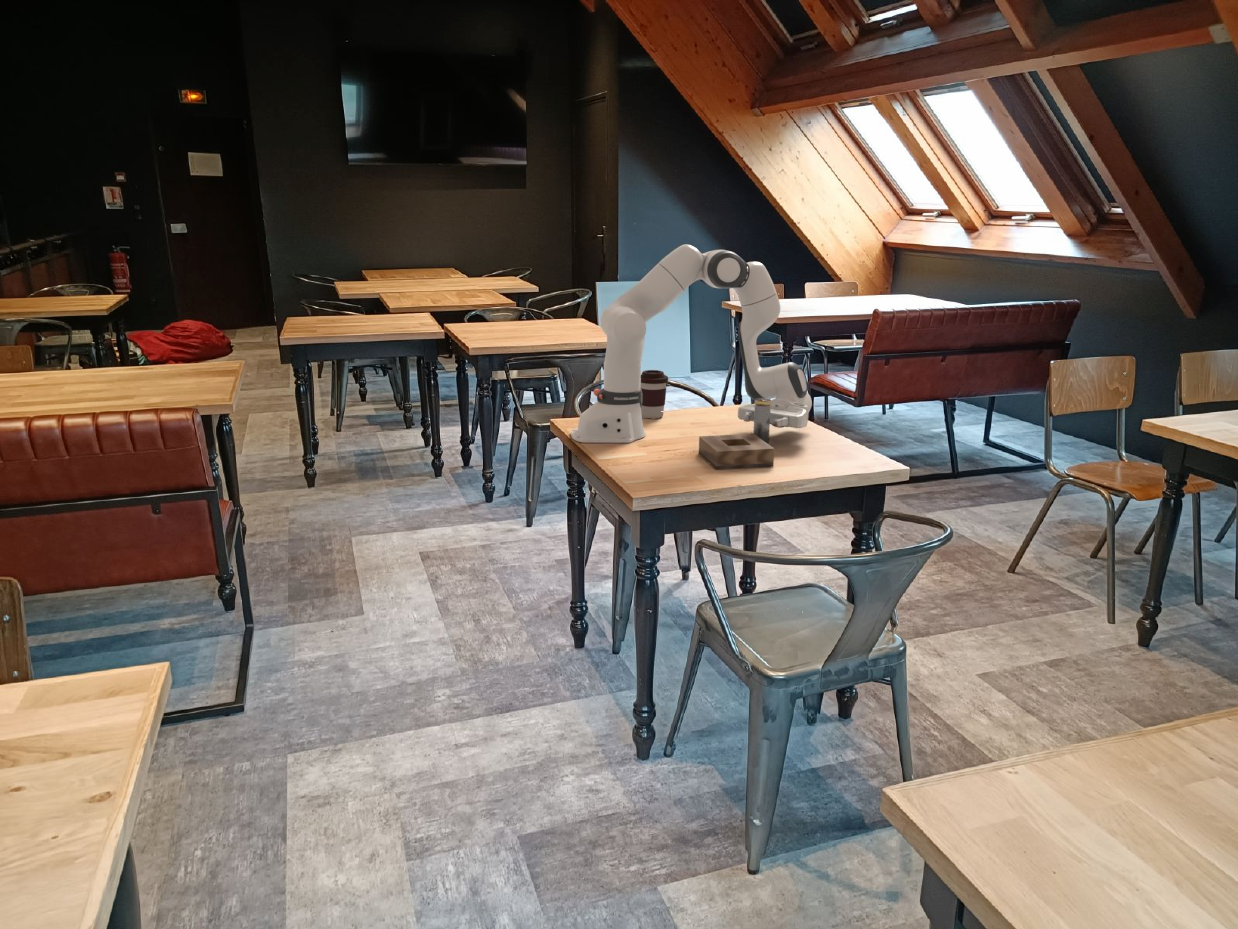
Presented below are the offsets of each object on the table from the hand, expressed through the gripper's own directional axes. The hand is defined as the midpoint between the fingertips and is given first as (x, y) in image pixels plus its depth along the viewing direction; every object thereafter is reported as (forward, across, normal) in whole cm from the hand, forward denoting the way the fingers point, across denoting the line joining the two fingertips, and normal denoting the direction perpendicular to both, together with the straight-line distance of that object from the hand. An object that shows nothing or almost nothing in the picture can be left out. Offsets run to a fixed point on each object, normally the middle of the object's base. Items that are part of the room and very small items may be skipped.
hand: (760, 421), depth 254 cm
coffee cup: (-15, -46, +8) cm, 49 cm away
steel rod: (0, 0, +8) cm, 8 cm away
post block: (+15, 0, +8) cm, 17 cm away
